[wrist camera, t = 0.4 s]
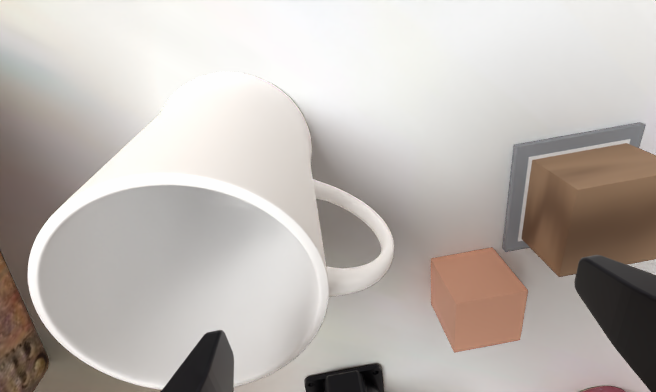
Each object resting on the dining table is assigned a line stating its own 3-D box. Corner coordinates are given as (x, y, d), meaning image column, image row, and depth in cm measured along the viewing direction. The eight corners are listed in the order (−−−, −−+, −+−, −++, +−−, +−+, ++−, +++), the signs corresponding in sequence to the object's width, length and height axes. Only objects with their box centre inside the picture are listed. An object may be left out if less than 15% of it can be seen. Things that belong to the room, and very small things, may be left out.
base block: (605, 223, 26) (655, 259, 22) (521, 238, 26) (559, 277, 22) (626, 142, 23) (688, 169, 19) (532, 159, 23) (577, 189, 19)
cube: (487, 292, 29) (519, 340, 25) (430, 303, 28) (454, 352, 25) (491, 246, 26) (528, 290, 22) (430, 257, 26) (456, 303, 22)
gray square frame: (610, 228, 27) (615, 232, 26) (502, 248, 26) (506, 252, 26) (640, 122, 23) (646, 124, 22) (513, 144, 23) (518, 147, 22)
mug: (385, 120, 21) (487, 244, 10) (333, 239, 24) (370, 421, 14) (170, 46, 18) (11, 115, 8) (146, 193, 22) (15, 380, 11)
